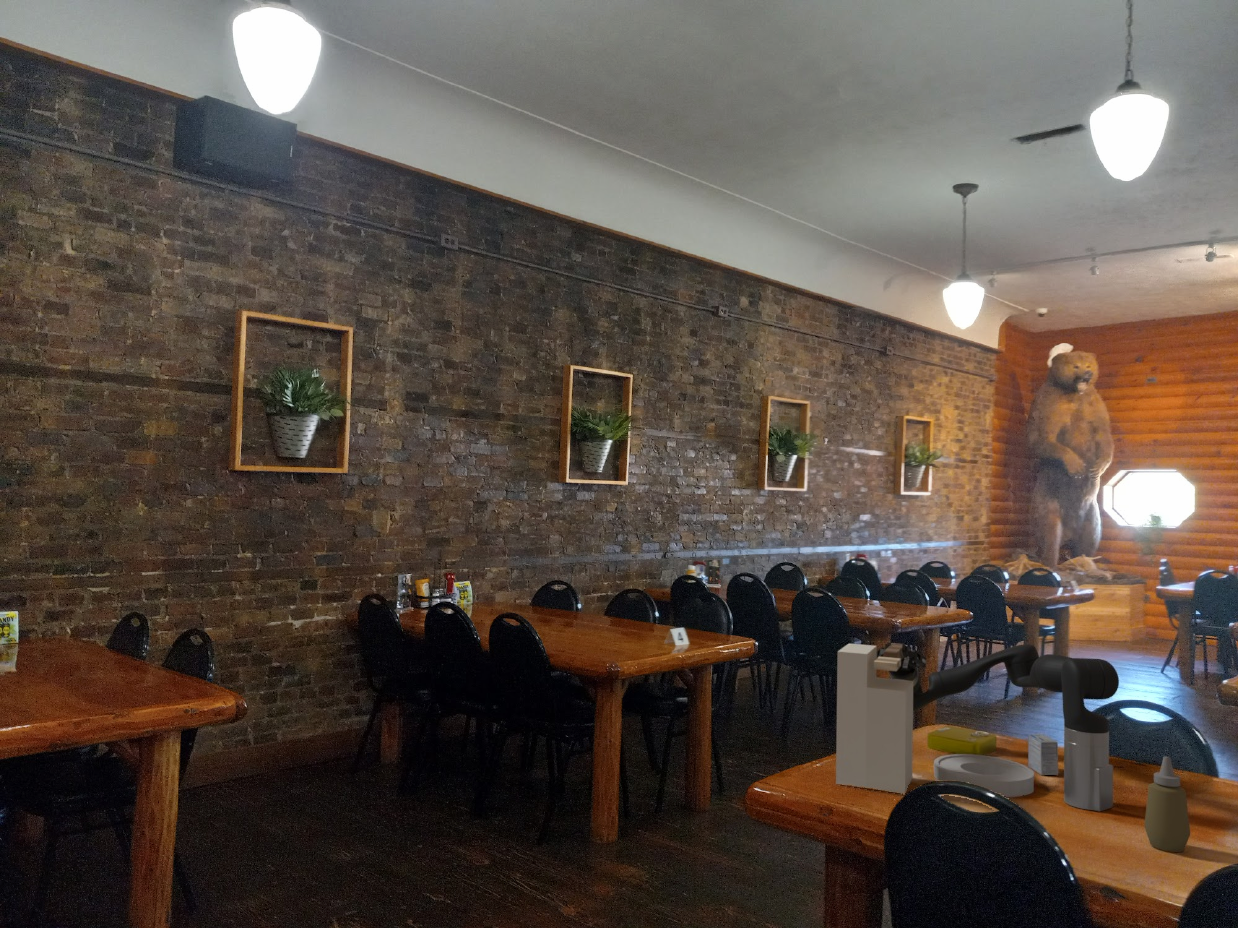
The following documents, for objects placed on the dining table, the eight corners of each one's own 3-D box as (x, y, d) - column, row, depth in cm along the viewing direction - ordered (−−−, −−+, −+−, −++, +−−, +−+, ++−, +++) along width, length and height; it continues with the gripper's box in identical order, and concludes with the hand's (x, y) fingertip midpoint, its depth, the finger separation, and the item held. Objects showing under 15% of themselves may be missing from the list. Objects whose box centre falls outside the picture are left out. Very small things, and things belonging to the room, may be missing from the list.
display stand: (847, 768, 235) (848, 643, 237) (912, 777, 229) (913, 648, 230) (836, 784, 222) (837, 651, 223) (904, 794, 215) (906, 657, 216)
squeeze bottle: (1174, 840, 189) (1173, 751, 190) (1200, 855, 181) (1199, 762, 182) (1135, 839, 189) (1135, 751, 190) (1159, 854, 181) (1159, 762, 181)
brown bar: (888, 654, 241) (888, 642, 241) (909, 655, 239) (909, 644, 239) (873, 669, 219) (873, 656, 219) (896, 671, 217) (896, 658, 217)
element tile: (947, 739, 270) (947, 723, 270) (998, 749, 259) (998, 732, 260) (924, 748, 259) (924, 731, 259) (977, 759, 248) (977, 741, 249)
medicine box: (1058, 776, 233) (1058, 741, 234) (1040, 775, 233) (1040, 741, 234) (1044, 767, 241) (1044, 734, 241) (1027, 766, 241) (1027, 733, 242)
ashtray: (983, 765, 242) (983, 750, 242) (1056, 792, 221) (1056, 775, 221) (913, 774, 233) (913, 758, 233) (983, 802, 212) (983, 785, 212)
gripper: (929, 686, 243) (923, 663, 230) (875, 681, 249) (866, 657, 236) (931, 660, 247) (925, 635, 234) (877, 655, 253) (869, 630, 240)
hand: (895, 646), depth 235 cm, fingers closed on brown bar, 3 cm apart
